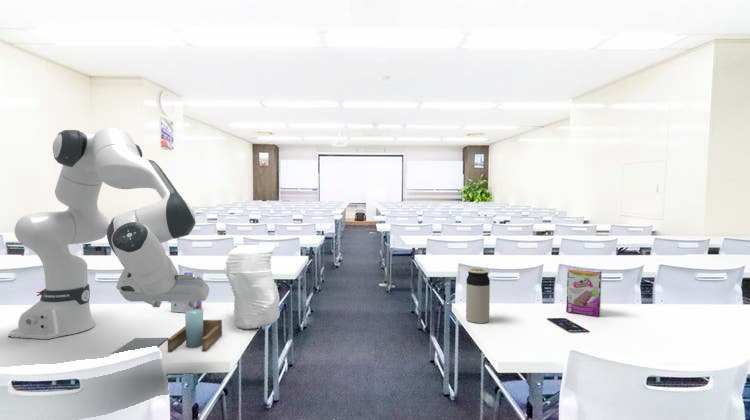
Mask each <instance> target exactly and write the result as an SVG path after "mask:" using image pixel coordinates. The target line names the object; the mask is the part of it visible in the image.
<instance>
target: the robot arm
mask: <svg viewBox="0 0 750 420" xmlns="http://www.w3.org/2000/svg"><path fill="white" fill-rule="evenodd" d="M52 154H53V158H54V159H55V161H56V162H57V164H60V165H61V170H60V174H59V176H58V180H57V182H56V185H55V189H54V195H55V197H56V199H57V200H58V202H60V203H61V204H63V205H65V206H67V207H68V208H67V210H64V211H43V212H40V211H39V212H36V213H30V214H26V215H23V216H21V217H20V218H19V219H18V220H17V222H16V224H15V226H14V234H15V235H14V236H15V237H16V240H17V241H18V242H19V243H20V244H21V245H23V246H24V247H26V248H28V249H30V250H31V251H33V253H35V254H36V255H37V257H38V258H39V259H40V261H41V263H42V265H43V266H42V267H43V272H44V282H45V285H44V286H45V288H44V289H42V290H41V291H38V292H37V291H36V297H38V296H40V298H39V301H37V302H36V303H35V304H34V305H32V306H31V307H30V308H28V309H27V310H26V311H24V312H23V313H21V315H20V316H19V320H18V324H17V325H18V326H17V327H16V328H14V329H13V330H10V332H9V333H8V336H11V337H10V338H19V337H20V339H21V338H22V339H34V340H35V339H36V340H38V339H39V340H50V339H55V338H60V337H63V336H68V335H75V334H77V333H78V334H79V333H81V332H85V331H88V330H89V329H92V328H94V327H95V326H96V324H95V321H94V319H93V315H92V312H91V307H90V296H91V293H90V292H91V291H90V284H89V283H88V280H89V279H88V264H87V262H86V260H84V258H82V257H80V256H78V255H75V254H73V253H71V251H70V249H69V245H77V244H87V243H92V242H96V241H98V240H102V239H104V238H105V237H107V239H106V240H107V242H108V245H109V247H110V249H111V250H112V252H113V253H114V255H115V256H116V257H117V259H118V260H119V262H120V263H121V265H122V267H123V270H122V272H121V274H120V276H119V278H118V281H117V283H116V287H115V288H116V289H117V290H118V291H119V293H120V295H121V296H122V297H123V299H125V300H126V301H127V302H128V301H129V302H144V303H145V304H149V305H151V306H152V307H153V308H160V307H161V304H162V302H171V301H190V302H189V303H188V305H189V307H196V305H197V301H202V302H204V301H206V300H207V299H208V296H209V293H210V287H209V285H208V284H207V282H206V281H205V280H204V279H203V277H201V276H200V275H197V274H193V275H189V274H187V275H184V274H179V272H178V270H177V268H176V266H175V265H174V263H173V261H172V259H171V258H170V257H169V255H167V253H166V250H165V248H164V245H163V244H162V243H166V242H169V241H171V240H174V239H175V240H176V239H179V238H182V237H187V236H189V235H190V234H191V233H192V230H193V229H194V227H195V225H196V223H197V222H196V217H195V216H196V215H195V214H194V211H193V209H192V207H191V206H190V205H189V204H188V202H186V200H185V199H184V197H183V196H181V194H180V193H179V192H178V190H177V189H176V188H175V186H174V184H173V183H172V181H170V179H169V177H168V176H167V175H166V173H165V172H164V170H163V169H162V167H160V165H158V163H157V162H155V160H153V159H147V158H145V157H143V152H142V148H140V146H139V145H138V144H136V143H135V142H134V140H133V138H132V136H130V135H129V133H128V132H127V131H126V130H124V129H122V128H119V127H115V126H108V127H104V128H100V129H98V131H97V132H96V133H91V132H85V131H80V130H79V129H77V130H76V129H65V130H62V131H60V132H58V133H57V136H56V137H55V138H54V140H53V143H52ZM103 183H104V184H105V185H107V186H109V187H112V188H115V189H119V190H135V189H153V190H155V191H156V192H157V193H158V195H159V196H160V198H161V199H160V201H158V202H155V203H152V204H149V205H146V206H142V207H139V208H137V209H133V210H130V211H127V212H124V213H121V214H119V215H116V216H114V217H113V218H112V219H111V221H110V223H109V219H108V218H107V216H105V214H104V213H102V212H101V210H99V208H98V199H99V194H100V191H101V188H102V185H103Z"/></svg>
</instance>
